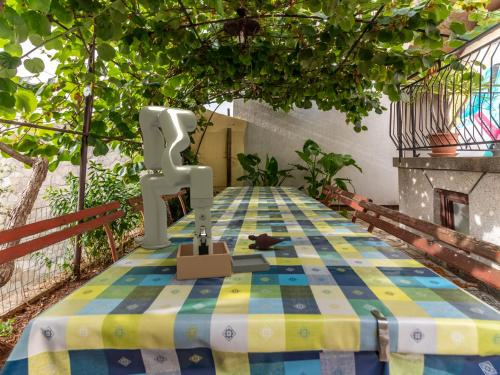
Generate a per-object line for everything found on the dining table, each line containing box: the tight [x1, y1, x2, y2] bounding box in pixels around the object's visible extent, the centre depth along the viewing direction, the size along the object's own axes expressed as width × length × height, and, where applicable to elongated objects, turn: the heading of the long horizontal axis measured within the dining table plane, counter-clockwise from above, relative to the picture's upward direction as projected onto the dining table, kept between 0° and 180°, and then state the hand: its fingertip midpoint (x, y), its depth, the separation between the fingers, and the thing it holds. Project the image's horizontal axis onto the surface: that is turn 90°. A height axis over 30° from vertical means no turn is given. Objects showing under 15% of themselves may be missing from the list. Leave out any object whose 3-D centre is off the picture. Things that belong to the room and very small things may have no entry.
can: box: [192, 233, 214, 256], centre depth 107 cm, size 6×6×12 cm
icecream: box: [247, 232, 284, 250], centre depth 131 cm, size 7×7×15 cm
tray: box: [231, 253, 271, 274], centre depth 110 cm, size 12×12×2 cm
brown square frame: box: [176, 241, 232, 281], centre depth 107 cm, size 17×17×7 cm
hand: (203, 253), depth 107 cm, fingers open, 9 cm apart
